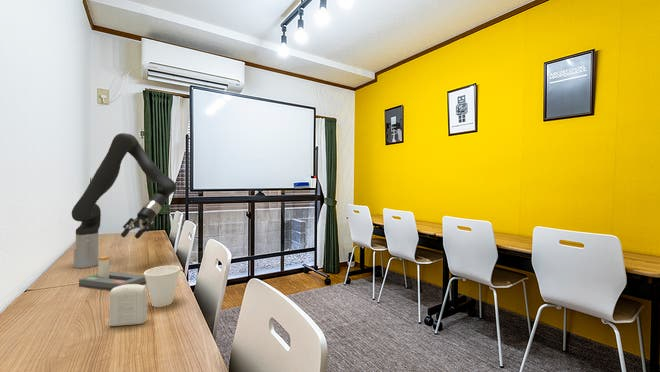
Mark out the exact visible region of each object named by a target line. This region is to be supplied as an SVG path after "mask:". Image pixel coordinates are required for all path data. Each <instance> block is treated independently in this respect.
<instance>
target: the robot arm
mask: <svg viewBox="0 0 660 372" xmlns="http://www.w3.org/2000/svg"><path fill="white" fill-rule="evenodd" d="M127 154H129V155H130V156H132V157H133V158H134V160H135V161H136V162H137V164H138V166H139V167H140V169H141V170H142V171H143V173H144V175H146V177H147V178H148V179H149V180H150V181H151V182H152V183H153V184H154V183H155V184H156V183H158V185H159V187H158V188H157V189H156V191H155V192H154V194H153V195H152V196H151V198H150V199H149V200H148V201H147V202H146V203H144V205H143V206H142V208H141V209H140V210H139V211H138V212H137V214H136V218H132V217H130V218H129V219H128V220H127V221H126V223H124V224H123V226H122V228H123V229H124V230H123V231H122V232H121V233H120V237H122V238H126V237H127V236H128V234H129V232H131V231H133V230H135V229H139V230H137V232H136V233H135V234H134V237H135V238H136V240H137V239H140V237H142V235H143V234H144V233H146V232H147V233H148V232H149V231H150V230H151V228H152V227H153V226H154V224H155V221H154V219H155V218H156V217H157V215H158V214H159V212H160V211H161V209H162V208H163V207H164V205H165V203H166V202H167V200H168V198H169V197H170V196H171V195H172V194H173V193H174V192H176V190H177V185H176V182H174V180H172V179H171V178H170V177H169V176H168V175H166V174H164V173H163V171H162V170H161V169H160V168H159V167H158V166H157V165H156V164H155V163H154V161H153V160H152V159H151V158H150V157H149V156H148V155H147V153H146V151H145V150H144V149H143V147H142V146H141V144H140V142H139V140H138V139H137V138H136V136H134V135H133V134H131V133H124V132H122V133H117V134H116V135H115V136H114V137H113V139H112V142H111V144H110V146H109V148H108V151H107V153H106V154H105V156H104V158H103V160H102V161H101V163H100V164H99V167H97V169H96V171H95V172H94V175H93V177H92V179H91V180H90V182H89V184H88V185H87V187H86V188H85V190H84V192H83V194H82V195H81V196H80V198H79V200H77V202H76V204H75V205H74V206H73V208H72V209H71V217H72V219H73V220H74V221H76V222H81V224H80V225H79V226H78V227H77V228H76V229H75V248H74V249H73V268H74V269H75V268H77V269H85V268H87V269H88V268H92V267H96V266H98V258H99V230H100V227H101V218H102V217H101V216H102V212H101V207H100V206H99V204H98V203H97V202H98V200H100V198H102V196H103V195H104V194H106V193H107V192H108V191H109V190H110V189H111V188H112V187H113V185H114V184H115V182H116V180H117V178H118V176H119V174H120V172H121V171H120V170H121V164H122V161H123V159H124V158H125V156H126V155H127Z"/></svg>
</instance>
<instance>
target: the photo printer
mask: <svg viewBox="0 0 660 372" xmlns="http://www.w3.org/2000/svg"><path fill="white" fill-rule="evenodd" d="M147 321H148V287H147V285H145V284H143V285H138V284H127V285H121V286H118V287H115V288H113V289H112V290H111V291H110V294H109V326H110V327H118V326H130V325H131V326H132V325H141V324H144V323H146V322H147Z"/></svg>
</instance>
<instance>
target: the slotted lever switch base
mask: <svg viewBox="0 0 660 372" xmlns="http://www.w3.org/2000/svg"><path fill="white" fill-rule="evenodd" d="M127 284H138V285H145V284H147V283H146V279H145V275H144V274H136V273H126V272H119V271H111V270H109V279H108V278H99V277H98V273H96V274H93V275H89V276H87V277H83V278H80V279H79V280H78V286H79V287H82V288H88V289H89V288H90V289H96V290H104V291H110V292H111V290H112V289H113V288H115V287H118V286H121V285H127Z"/></svg>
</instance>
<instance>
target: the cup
mask: <svg viewBox="0 0 660 372" xmlns="http://www.w3.org/2000/svg"><path fill="white" fill-rule="evenodd" d="M180 271H181V267H180V266H178V265H177V266H176V265H161V266H156V267H152V268H149V269H146V270H145V271H144V272H143V275H145V279H146V283H145V284H146V287H147V292H148V294H149V295H148V296H149V298H150V299H149V300H150V303H151V306H152V307H153V306H154V307H153V308H162V307H163V306H164V307H167V306H170V305H171V303H172V302H173V303H174V299H175V294H176V291H177V286H178V280H179V276H180ZM173 303H172V304H173ZM169 304H170V305H169ZM166 305H167V306H166Z"/></svg>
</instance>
